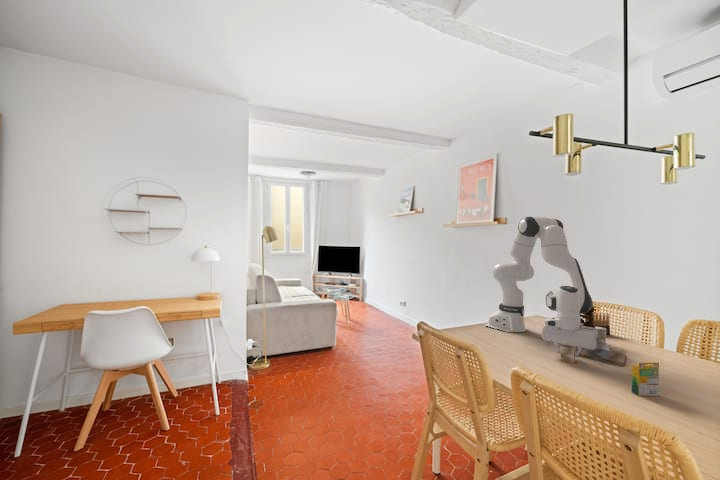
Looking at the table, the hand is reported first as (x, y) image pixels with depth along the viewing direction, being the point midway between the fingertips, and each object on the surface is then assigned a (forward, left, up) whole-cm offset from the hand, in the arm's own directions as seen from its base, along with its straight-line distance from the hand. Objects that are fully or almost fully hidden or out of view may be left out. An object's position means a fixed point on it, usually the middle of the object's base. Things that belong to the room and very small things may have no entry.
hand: (567, 354), depth 139 cm
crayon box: (+25, -18, -3) cm, 31 cm away
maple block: (0, 0, -2) cm, 2 cm away
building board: (+8, +16, -2) cm, 18 cm away
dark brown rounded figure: (+2, +37, -3) cm, 37 cm away
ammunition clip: (+7, +55, -3) cm, 56 cm away
